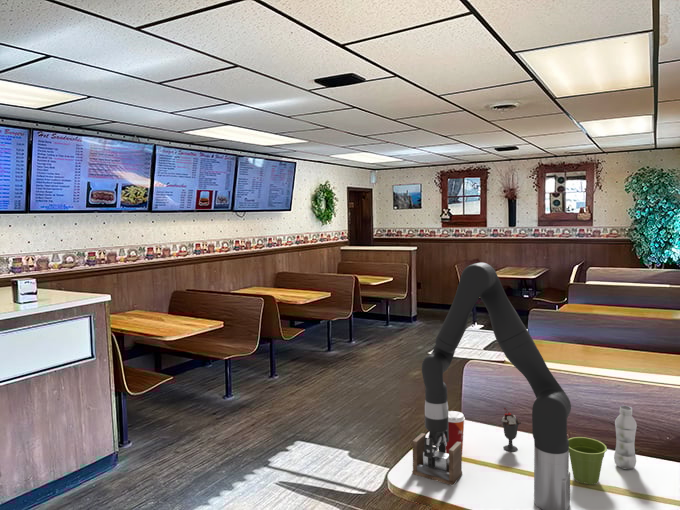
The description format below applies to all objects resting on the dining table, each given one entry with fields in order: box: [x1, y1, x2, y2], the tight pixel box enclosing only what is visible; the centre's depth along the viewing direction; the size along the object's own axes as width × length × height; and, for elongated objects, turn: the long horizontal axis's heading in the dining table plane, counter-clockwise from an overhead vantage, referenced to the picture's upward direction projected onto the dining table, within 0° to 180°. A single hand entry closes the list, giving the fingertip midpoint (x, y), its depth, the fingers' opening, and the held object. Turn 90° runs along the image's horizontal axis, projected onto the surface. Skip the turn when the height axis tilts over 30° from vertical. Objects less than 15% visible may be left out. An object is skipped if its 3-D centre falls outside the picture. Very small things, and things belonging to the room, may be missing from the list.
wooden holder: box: [411, 432, 463, 486], centre depth 169 cm, size 14×8×11 cm, turn 56°
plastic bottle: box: [613, 405, 638, 470], centre depth 170 cm, size 6×7×20 cm
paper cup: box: [445, 410, 466, 454], centre depth 184 cm, size 8×8×14 cm
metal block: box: [423, 450, 449, 472], centre depth 169 cm, size 8×4×6 cm, turn 56°
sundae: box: [500, 407, 521, 453], centre depth 185 cm, size 7×7×15 cm
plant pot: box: [568, 436, 608, 486], centre depth 164 cm, size 12×12×11 cm
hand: (437, 462), depth 169 cm, fingers open, 8 cm apart
